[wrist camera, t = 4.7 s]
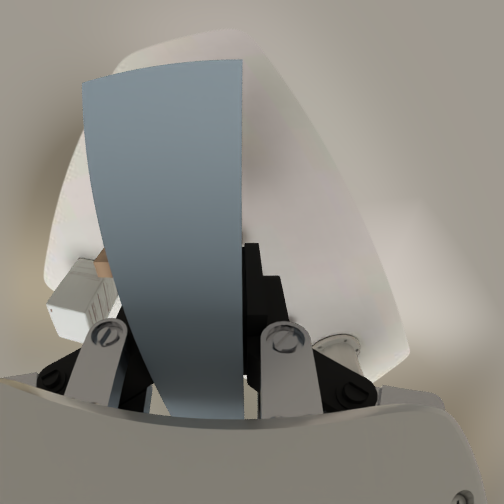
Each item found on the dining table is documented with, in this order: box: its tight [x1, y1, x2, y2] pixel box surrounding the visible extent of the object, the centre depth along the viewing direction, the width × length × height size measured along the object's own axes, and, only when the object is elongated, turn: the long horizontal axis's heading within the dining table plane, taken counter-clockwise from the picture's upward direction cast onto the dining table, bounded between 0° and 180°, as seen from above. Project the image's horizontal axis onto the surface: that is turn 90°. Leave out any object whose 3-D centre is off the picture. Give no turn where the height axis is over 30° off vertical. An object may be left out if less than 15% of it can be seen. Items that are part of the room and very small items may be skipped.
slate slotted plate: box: [82, 60, 244, 419], centre depth 13 cm, size 14×2×16 cm, turn 179°
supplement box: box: [46, 258, 118, 343], centre depth 37 cm, size 7×7×13 cm
